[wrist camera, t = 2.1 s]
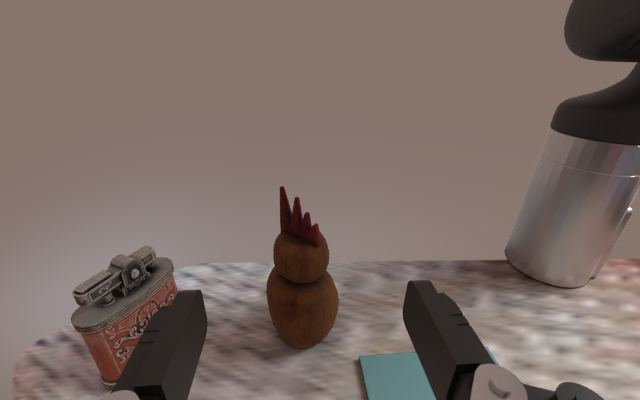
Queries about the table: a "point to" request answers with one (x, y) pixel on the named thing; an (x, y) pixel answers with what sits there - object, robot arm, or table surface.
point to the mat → (397, 377)
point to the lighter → (121, 307)
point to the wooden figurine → (301, 280)
